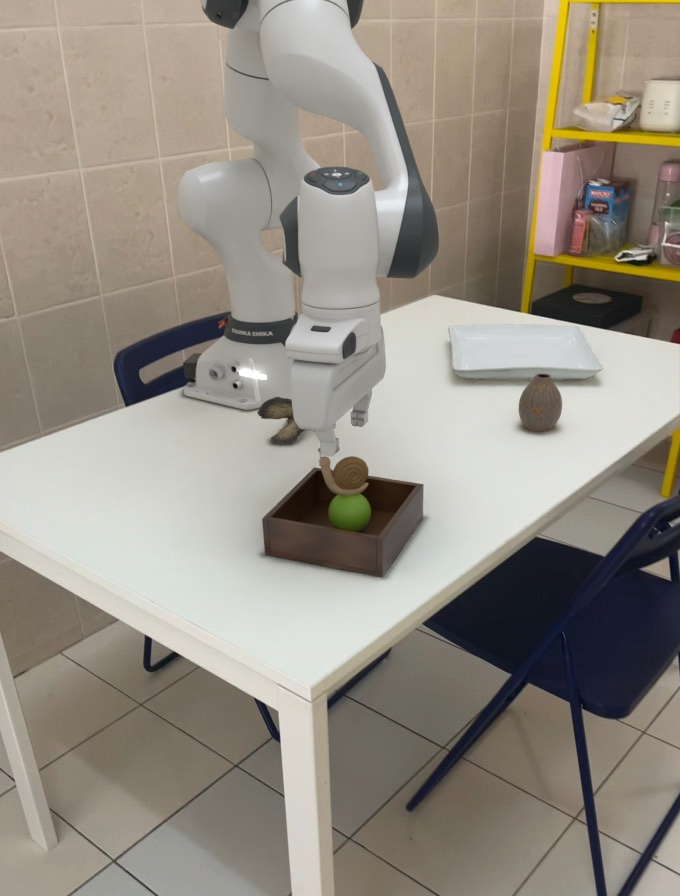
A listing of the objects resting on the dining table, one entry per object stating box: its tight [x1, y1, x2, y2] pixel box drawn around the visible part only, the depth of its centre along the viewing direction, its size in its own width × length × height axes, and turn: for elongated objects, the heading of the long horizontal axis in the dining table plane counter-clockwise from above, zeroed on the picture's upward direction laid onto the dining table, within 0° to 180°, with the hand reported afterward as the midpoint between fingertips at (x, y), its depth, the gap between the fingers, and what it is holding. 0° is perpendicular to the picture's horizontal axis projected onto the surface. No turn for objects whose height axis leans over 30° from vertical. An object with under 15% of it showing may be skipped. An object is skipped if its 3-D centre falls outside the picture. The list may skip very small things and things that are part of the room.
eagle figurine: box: [257, 397, 307, 446], centre depth 140 cm, size 8×7×9 cm
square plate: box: [447, 323, 604, 381], centre depth 170 cm, size 27×27×4 cm
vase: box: [518, 373, 563, 432], centre depth 141 cm, size 7×7×9 cm
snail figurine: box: [317, 447, 371, 532], centre depth 109 cm, size 5×6×12 cm
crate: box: [261, 466, 425, 578], centre depth 111 cm, size 16×16×5 cm
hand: (345, 438), depth 106 cm, fingers open, 8 cm apart
